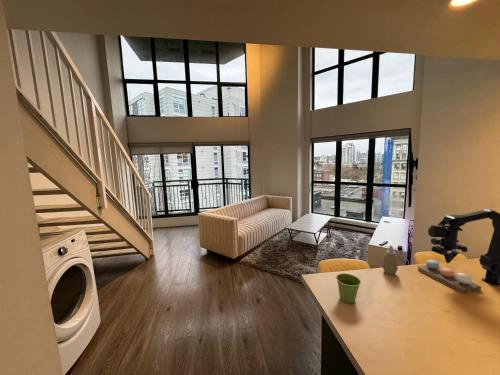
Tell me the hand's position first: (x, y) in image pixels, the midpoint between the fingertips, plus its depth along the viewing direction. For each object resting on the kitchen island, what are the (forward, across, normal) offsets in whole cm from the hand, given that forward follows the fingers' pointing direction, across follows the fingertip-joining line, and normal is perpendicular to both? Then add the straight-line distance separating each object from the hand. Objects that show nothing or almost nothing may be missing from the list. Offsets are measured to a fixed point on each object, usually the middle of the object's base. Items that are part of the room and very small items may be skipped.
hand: (447, 262), depth 125 cm
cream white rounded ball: (+9, 0, +9) cm, 13 cm away
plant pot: (+11, +68, +3) cm, 69 cm away
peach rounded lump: (+10, 0, 0) cm, 10 cm away
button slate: (+9, 0, -8) cm, 13 cm away
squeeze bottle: (+11, +26, -14) cm, 31 cm away
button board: (+10, 0, 0) cm, 11 cm away
